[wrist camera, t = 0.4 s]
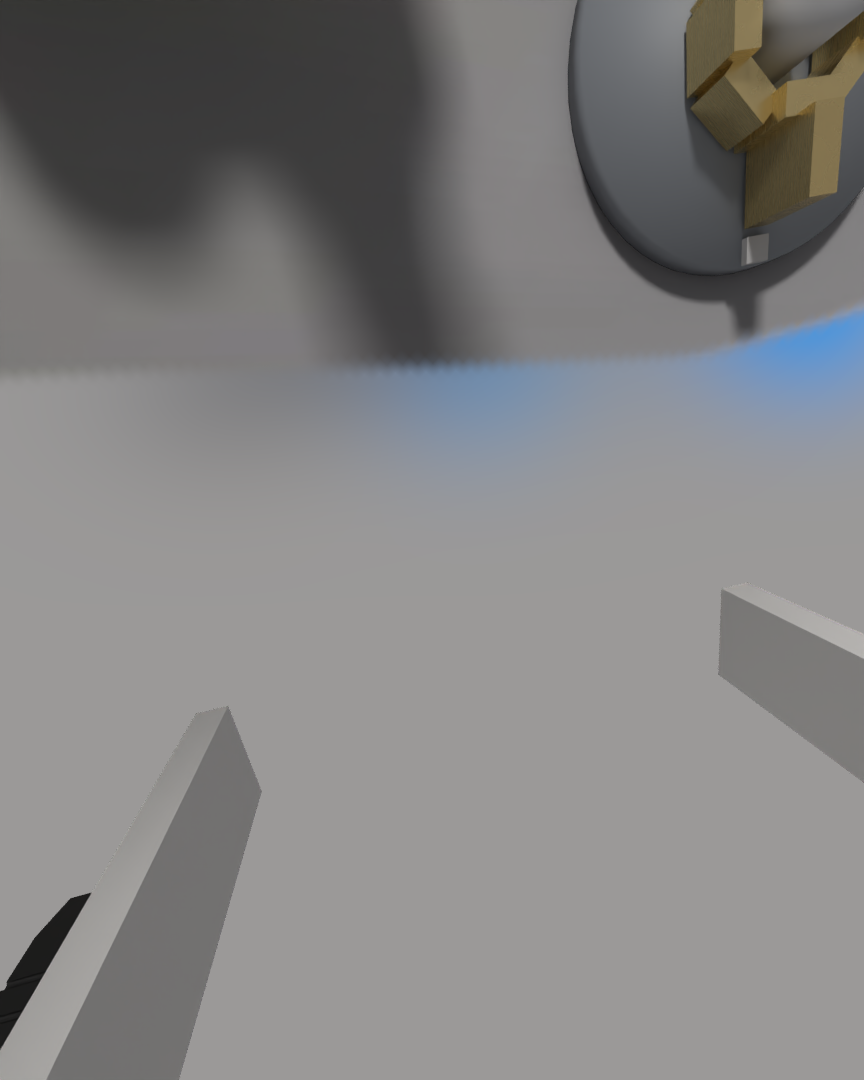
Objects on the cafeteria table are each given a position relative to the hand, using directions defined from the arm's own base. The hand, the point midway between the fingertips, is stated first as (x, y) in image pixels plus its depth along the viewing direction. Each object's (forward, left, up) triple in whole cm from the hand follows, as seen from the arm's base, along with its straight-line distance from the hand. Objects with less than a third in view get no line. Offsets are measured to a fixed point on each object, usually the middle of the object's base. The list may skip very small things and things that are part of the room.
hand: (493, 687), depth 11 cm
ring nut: (-23, +30, -25) cm, 45 cm away
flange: (-25, +30, -27) cm, 48 cm away
